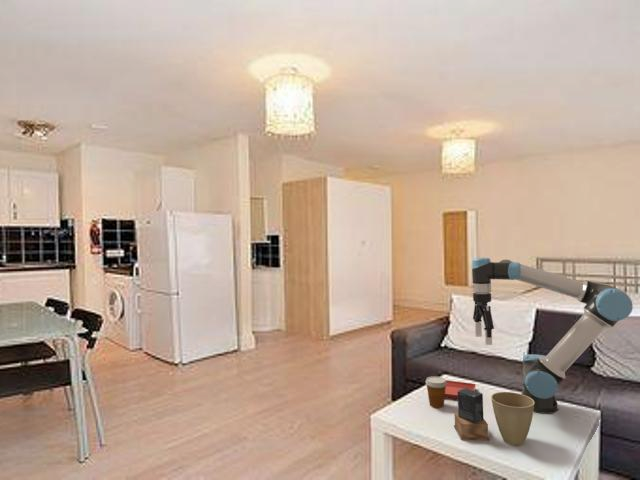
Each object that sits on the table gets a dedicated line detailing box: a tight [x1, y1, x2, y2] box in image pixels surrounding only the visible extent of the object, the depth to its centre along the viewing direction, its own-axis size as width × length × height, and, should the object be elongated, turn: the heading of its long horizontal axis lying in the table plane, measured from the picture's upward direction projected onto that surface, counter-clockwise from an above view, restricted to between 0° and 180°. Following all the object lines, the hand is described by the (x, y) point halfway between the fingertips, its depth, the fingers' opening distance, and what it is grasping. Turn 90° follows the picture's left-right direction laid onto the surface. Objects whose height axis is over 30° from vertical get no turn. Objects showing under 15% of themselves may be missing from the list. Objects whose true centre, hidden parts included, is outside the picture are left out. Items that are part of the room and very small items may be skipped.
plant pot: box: [490, 391, 535, 446], centre depth 153 cm, size 15×15×16 cm
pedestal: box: [453, 412, 490, 441], centre depth 159 cm, size 11×11×6 cm
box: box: [457, 388, 484, 423], centre depth 159 cm, size 8×6×11 cm
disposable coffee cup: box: [425, 376, 447, 409], centre depth 186 cm, size 10×10×12 cm
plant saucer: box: [445, 379, 477, 401], centre depth 199 cm, size 18×18×3 cm
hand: (483, 340), depth 178 cm, fingers open, 13 cm apart
